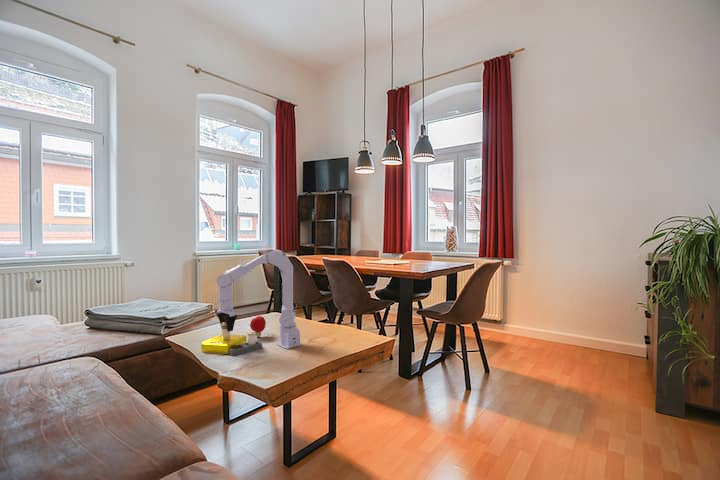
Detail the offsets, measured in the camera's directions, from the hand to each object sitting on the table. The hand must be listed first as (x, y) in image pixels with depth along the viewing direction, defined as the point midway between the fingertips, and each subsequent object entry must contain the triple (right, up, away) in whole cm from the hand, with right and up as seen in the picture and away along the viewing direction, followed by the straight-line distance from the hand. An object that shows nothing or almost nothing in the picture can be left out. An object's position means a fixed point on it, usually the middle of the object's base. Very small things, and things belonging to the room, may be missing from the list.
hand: (227, 329), depth 162 cm
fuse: (+12, -8, -2) cm, 15 cm away
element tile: (-1, -9, 0) cm, 9 cm away
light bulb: (+10, -8, +15) cm, 19 cm away
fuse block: (+9, -8, -4) cm, 13 cm away
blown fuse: (0, -4, 0) cm, 4 cm away
